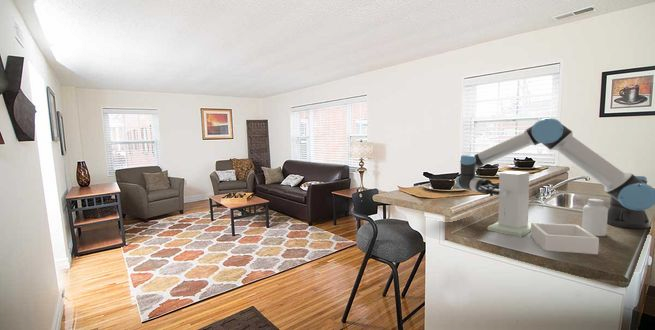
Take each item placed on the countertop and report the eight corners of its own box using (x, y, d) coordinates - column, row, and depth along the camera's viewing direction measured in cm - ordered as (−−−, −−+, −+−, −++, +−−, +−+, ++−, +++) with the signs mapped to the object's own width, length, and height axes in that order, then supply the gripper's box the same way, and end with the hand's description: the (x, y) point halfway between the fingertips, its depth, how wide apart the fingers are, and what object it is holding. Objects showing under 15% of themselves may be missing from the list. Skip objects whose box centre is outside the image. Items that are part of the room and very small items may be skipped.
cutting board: (507, 220, 152) (507, 217, 152) (539, 226, 141) (539, 222, 141) (487, 229, 139) (487, 226, 139) (521, 237, 128) (521, 233, 127)
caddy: (576, 238, 123) (577, 224, 123) (598, 254, 108) (598, 238, 107) (530, 236, 128) (531, 222, 128) (545, 250, 113) (545, 235, 112)
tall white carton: (498, 224, 142) (499, 172, 139) (509, 220, 146) (510, 170, 143) (516, 228, 134) (518, 174, 131) (528, 225, 138) (529, 172, 135)
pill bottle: (611, 237, 124) (613, 201, 122) (589, 236, 125) (591, 201, 124) (598, 230, 132) (600, 197, 130) (577, 230, 133) (579, 197, 132)
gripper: (499, 190, 161) (537, 198, 140) (461, 194, 153) (495, 203, 133) (499, 176, 160) (538, 182, 140) (461, 180, 153) (496, 187, 132)
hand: (517, 192), depth 136 cm, fingers open, 13 cm apart
